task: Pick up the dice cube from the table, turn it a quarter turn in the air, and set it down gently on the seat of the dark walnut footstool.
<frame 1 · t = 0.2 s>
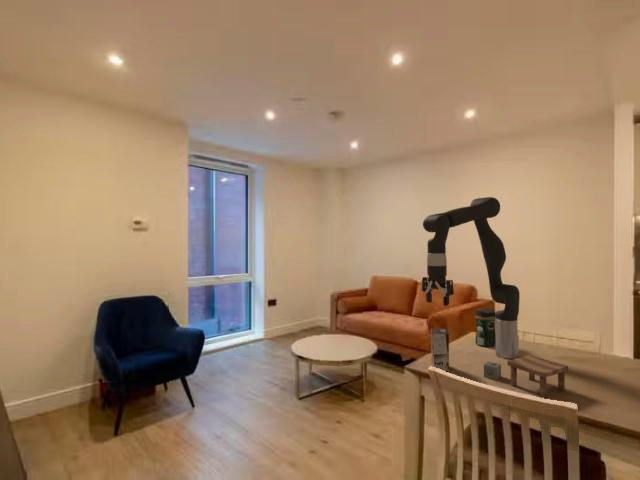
hand: (437, 304, 148), 29 cm above the table, tool pointing down, fingers open, 8 cm apart
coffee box: (440, 368, 156), on the table
footstool: (537, 387, 135), on the table
coffee jar: (485, 345, 187), on the table
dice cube: (492, 377, 146), on the table
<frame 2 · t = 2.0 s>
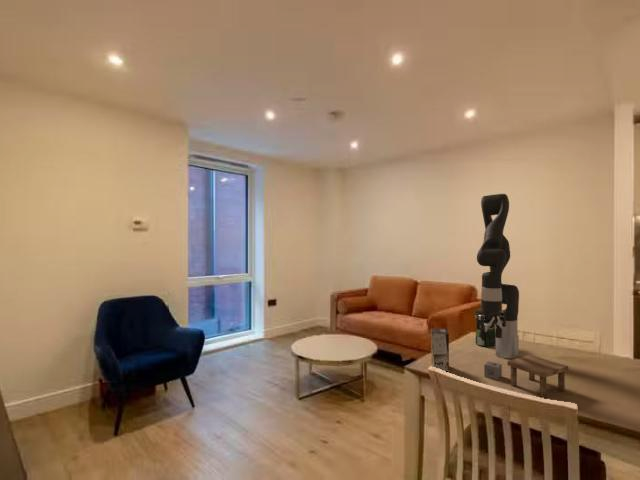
hand: (491, 339, 145), 15 cm above the table, tool pointing down, fingers open, 8 cm apart
nothing on the table moved.
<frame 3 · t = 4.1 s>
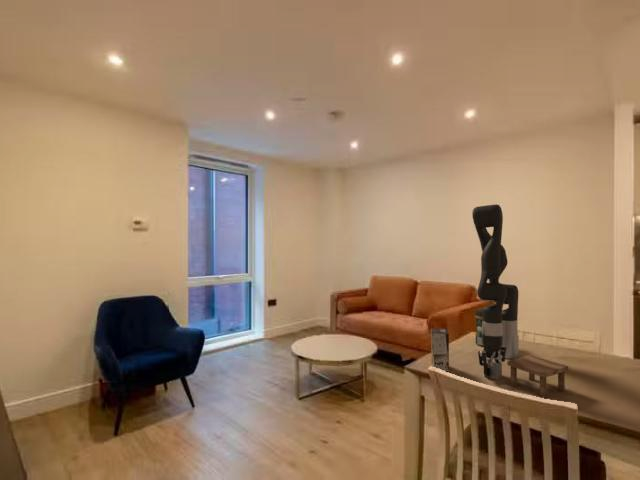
hand: (492, 374, 146), 1 cm above the table, tool pointing down, fingers closed on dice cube, 6 cm apart
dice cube: (493, 376, 146), on the table, touching gripper
everything else where it was.
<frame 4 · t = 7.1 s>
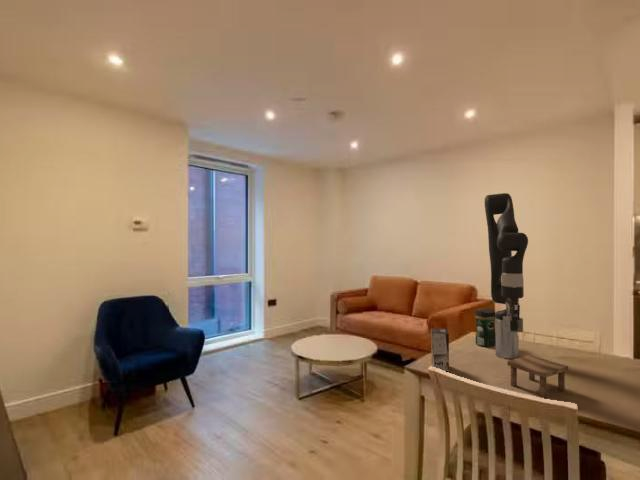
hand: (512, 328, 140), 21 cm above the table, tool pointing down, fingers closed on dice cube, 5 cm apart
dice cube: (512, 330, 140), point 20 cm above the table, touching gripper
everything else where it was.
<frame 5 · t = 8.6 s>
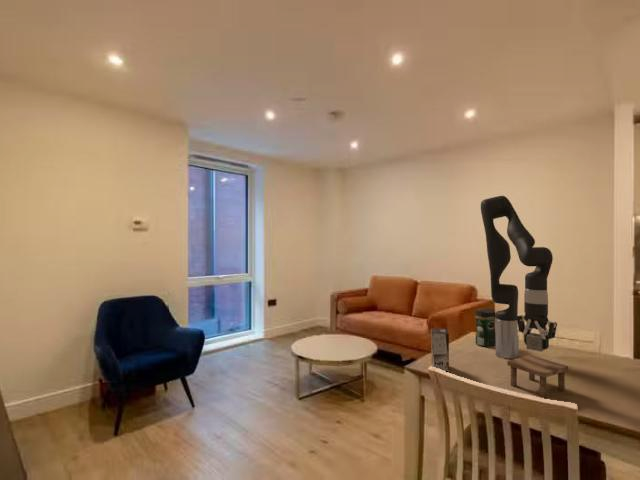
hand: (536, 346, 135), 15 cm above the table, tool pointing down, fingers closed on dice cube, 5 cm apart
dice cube: (536, 349, 135), point 14 cm above the table, touching gripper
everything else where it was.
when the fingers open (11 cm above the table, at t = 10.0 s): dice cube drops 1 cm, resting on footstool.
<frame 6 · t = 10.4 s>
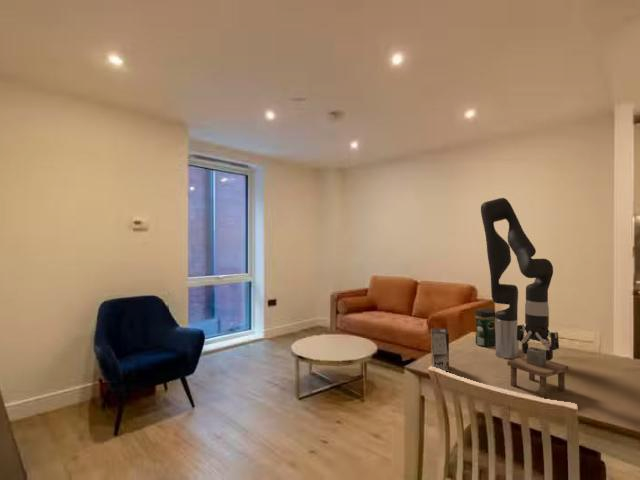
hand: (537, 356, 134), 12 cm above the table, tool pointing down, fingers open, 8 cm apart
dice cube: (536, 363, 135), point 9 cm above the table, touching footstool
everything else where it was.
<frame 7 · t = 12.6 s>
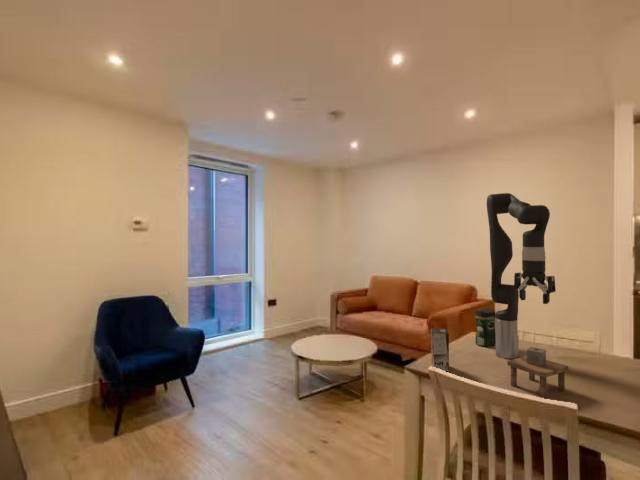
hand: (534, 301, 137), 31 cm above the table, tool pointing down, fingers open, 8 cm apart
nothing on the table moved.
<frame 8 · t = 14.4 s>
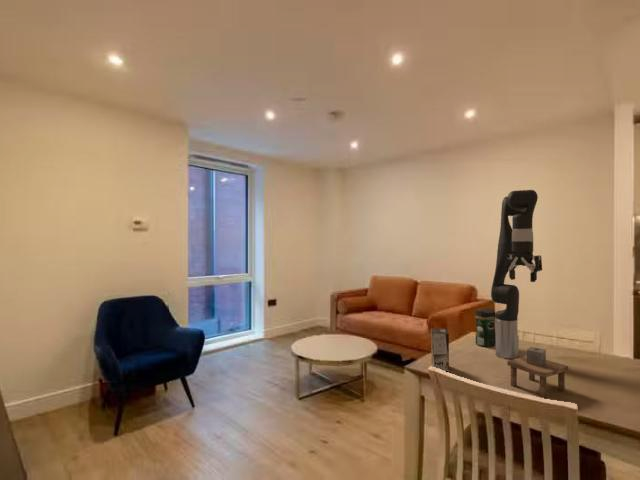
hand: (522, 280, 146), 38 cm above the table, tool pointing down, fingers open, 8 cm apart
nothing on the table moved.
at the end: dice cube inside the target area on the footstool (0.4 cm from its centre), point 8.8 cm above the footstool's base; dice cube tilted 0°; the gripper is holding nothing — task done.
